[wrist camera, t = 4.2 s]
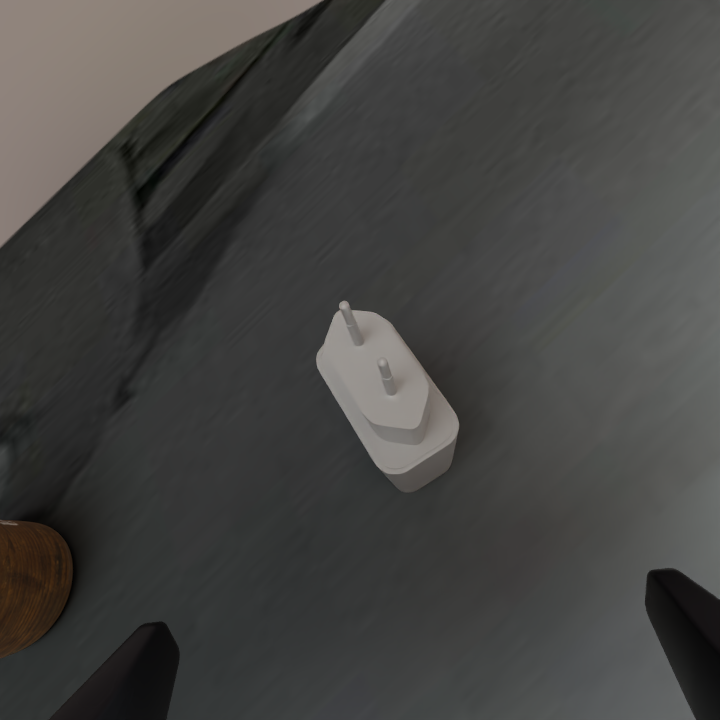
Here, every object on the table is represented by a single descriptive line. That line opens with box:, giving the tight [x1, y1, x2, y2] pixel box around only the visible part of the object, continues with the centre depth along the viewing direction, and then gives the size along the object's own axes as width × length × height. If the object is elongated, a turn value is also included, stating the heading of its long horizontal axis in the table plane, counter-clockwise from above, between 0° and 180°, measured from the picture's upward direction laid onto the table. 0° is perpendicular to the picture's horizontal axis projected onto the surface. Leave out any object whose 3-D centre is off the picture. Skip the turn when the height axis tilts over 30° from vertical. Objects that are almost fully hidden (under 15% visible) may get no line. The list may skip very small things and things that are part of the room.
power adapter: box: [316, 301, 459, 493], centre depth 16 cm, size 3×5×12 cm, turn 31°
